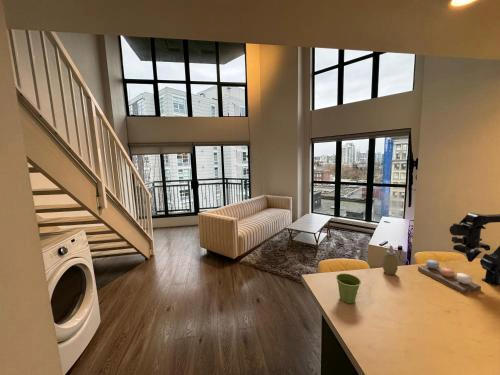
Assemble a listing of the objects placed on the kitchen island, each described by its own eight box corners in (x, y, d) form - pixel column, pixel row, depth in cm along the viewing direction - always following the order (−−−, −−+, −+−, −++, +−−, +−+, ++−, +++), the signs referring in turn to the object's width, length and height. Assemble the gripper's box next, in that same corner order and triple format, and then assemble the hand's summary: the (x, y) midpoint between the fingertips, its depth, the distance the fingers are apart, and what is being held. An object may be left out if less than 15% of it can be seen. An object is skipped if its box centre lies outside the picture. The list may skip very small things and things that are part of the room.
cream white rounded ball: (461, 282, 121) (462, 272, 120) (474, 288, 115) (475, 278, 114) (453, 283, 120) (454, 273, 119) (465, 289, 114) (466, 279, 113)
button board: (433, 268, 139) (433, 264, 139) (480, 290, 115) (481, 286, 115) (417, 270, 137) (418, 266, 137) (463, 293, 113) (463, 289, 112)
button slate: (431, 267, 138) (431, 259, 137) (440, 272, 132) (441, 263, 131) (423, 268, 136) (424, 260, 136) (433, 273, 131) (433, 264, 130)
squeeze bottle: (396, 277, 129) (398, 249, 127) (381, 273, 134) (382, 246, 132) (397, 272, 136) (399, 245, 133) (382, 268, 140) (384, 242, 138)
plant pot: (363, 308, 103) (364, 286, 102) (337, 305, 106) (338, 284, 104) (356, 293, 115) (357, 274, 114) (333, 291, 117) (333, 272, 116)
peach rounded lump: (445, 276, 129) (446, 267, 129) (456, 281, 124) (457, 272, 123) (437, 277, 128) (438, 268, 128) (448, 282, 122) (449, 273, 122)
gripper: (468, 229, 130) (466, 254, 132) (444, 232, 127) (441, 257, 128) (492, 236, 119) (489, 262, 121) (466, 239, 116) (463, 266, 118)
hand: (469, 261), depth 122 cm, fingers closed
